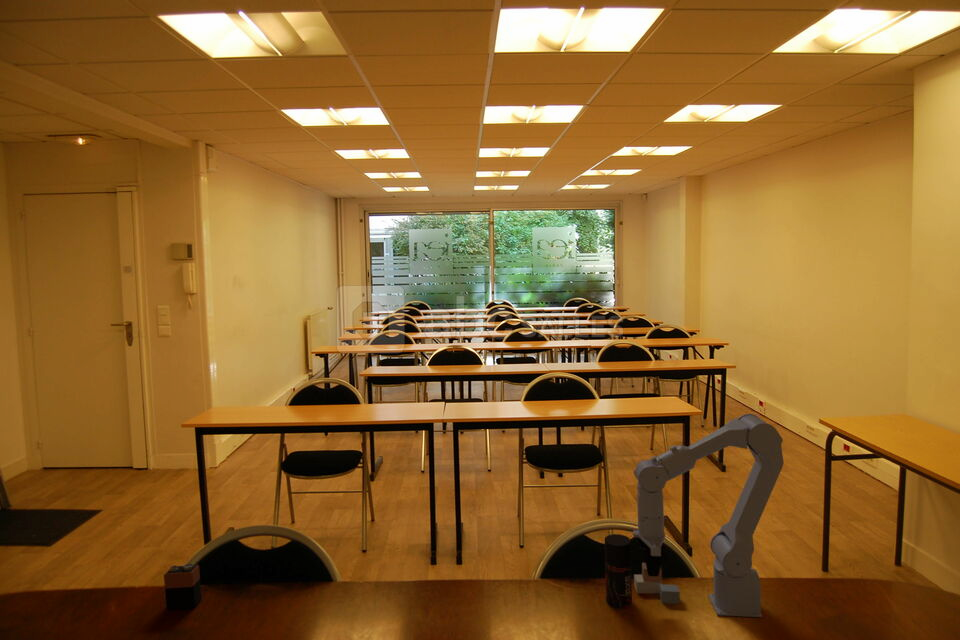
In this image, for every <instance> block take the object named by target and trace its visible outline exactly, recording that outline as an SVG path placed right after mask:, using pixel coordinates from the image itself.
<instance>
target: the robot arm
mask: <svg viewBox="0 0 960 640" xmlns="http://www.w3.org/2000/svg"><path fill="white" fill-rule="evenodd" d="M783 440H784V439H783V437H782V436H781V434H780V433H779V431H778V430H777V428H775V427H774V426H773V425H772V424H770V423H768V422H766V421H765V420H763V419H761V418H760V417H759V416H757V415H756V414H753V413H745V414H742V415H740V416H739V417H738V418H733V419H731V420H729V421H728V422H727V423H726V424H725V425H724V426H721V427H720V428H717V429H716V430H715V431H713V432H711V433H709V434H708V435H706V436H703V437H702V438H701V439H699V440H697V441H695V442H694V443H692V444H690V445H688V446H686V445H682V444H679V445H676V444H673V445H671V446H669V450H667V451H665V452H663V453H661V454H659V455H657V456H655V455H653V456H651V457H650V459H644V460H641V461H640V462H638V463H637V465H636V466H635V468H634V470H633V474H634V477H635V479H636V480H637V487H636V489H637V493H636V502H637V503H636V504H637V506H636V507H637V530H632V536H633V537H634V538H637V541H638V542H639V549H640V551H641V554H642V555H643V559H644V563H646V567H647V572H648V575H649V576H658V575H659V571H660V566H661V567H662V562H663V559H664V557H665V555H666V554H667V548H666V546H662V545H663V543H664V541H665V539H666V532H665V515H664V493H663V489H664V488H665V487H666V483H667V482H668V481H671V480H673V479H674V478H677V477H678V476H681V475H682V474H685V473H687V472H688V471H691V470H693V469H694V468H695V465H696V463H697V461H699V460H701V459H703V458H705V457H707V456H710V455H712V454H715V453H716V452H719V451H721V450H724V449H725V448H728V447H734V448H735V447H736V448H740V449H745V450H748V449H749V452H750V453H751V455H752V457H753V458H754V462H753V465H752V467H751V470H750V472H749V474H748V476H747V479H746V482H745V483H744V486H743V488H742V490H741V493H740V496H739V498H738V499H737V502H736V504H735V507H734V509H733V511H732V514H731V516H730V518H729V521H728V522H727V523H723V524H722V525H721V527H720V529H719V531H718V532H717V533H715V535H713V536H712V538H711V539H710V543H709V544H710V550H711V551H712V553H713V554H714V555H715V557H714V558H715V559H714V562H713V593H709V594H708V598H709V600H710V603H711V604H712V607H713V610H714V611H715V613H716V615H717V616H723V617H724V616H726V617H727V616H728V617H744V618H745V617H748V618H762V617H763V615H762V600H761V599H762V592H761V591H762V588H761V580H760V576H759V574H758V571H757V570H756V569H755V568H752V567H753V560H752V558H753V553H754V552H755V543H754V538H753V537H754V536H753V535H754V533H755V531H756V529H757V526H758V525H759V522H760V520H761V518H762V515H763V512H764V511H765V508H766V506H767V503H768V502H769V499H770V497H771V494H772V492H773V490H774V488H775V485H776V483H777V481H778V478H779V476H780V474H781V471H782V469H783V467H784V455H783V454H784V453H783V448H782V443H783Z"/></svg>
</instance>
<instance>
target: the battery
mask: <svg viewBox="0 0 960 640" xmlns="http://www.w3.org/2000/svg"><path fill="white" fill-rule="evenodd" d="M200 575H201V573H200V566H199V565H198V564H193V563H186V564H184V565H175V564H174V565H172V566H170V568H169V569H168V570H167V571H166V572H165V573H164V574H163V579H164V580H163V581H164V594H165V607H166V608H165V609H166V611H174V610H175V611H177V610H179V611H180V610H191V609H195V608H196V607H197V606H198V604H199V603H200V602H201V600H202V598H203V597H202V587H201V576H200Z"/></svg>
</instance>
